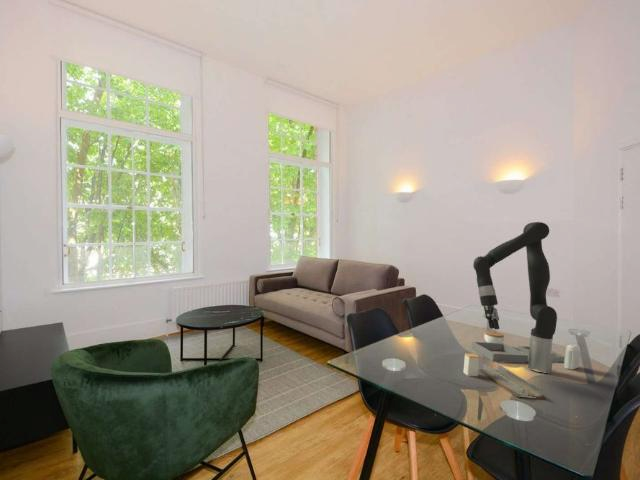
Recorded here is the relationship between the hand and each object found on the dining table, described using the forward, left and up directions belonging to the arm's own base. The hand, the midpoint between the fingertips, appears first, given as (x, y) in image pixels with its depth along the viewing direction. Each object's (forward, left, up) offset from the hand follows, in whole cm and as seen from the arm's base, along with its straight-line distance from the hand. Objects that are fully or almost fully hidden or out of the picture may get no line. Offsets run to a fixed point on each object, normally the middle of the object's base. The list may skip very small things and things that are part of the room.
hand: (494, 328), depth 161 cm
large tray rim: (-20, -23, -20) cm, 37 cm away
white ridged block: (-52, -9, -21) cm, 57 cm away
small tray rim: (-48, -25, -20) cm, 58 cm away
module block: (+14, +6, -21) cm, 26 cm away
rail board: (+1, +15, -20) cm, 25 cm away
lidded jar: (-29, -41, -21) cm, 54 cm away
